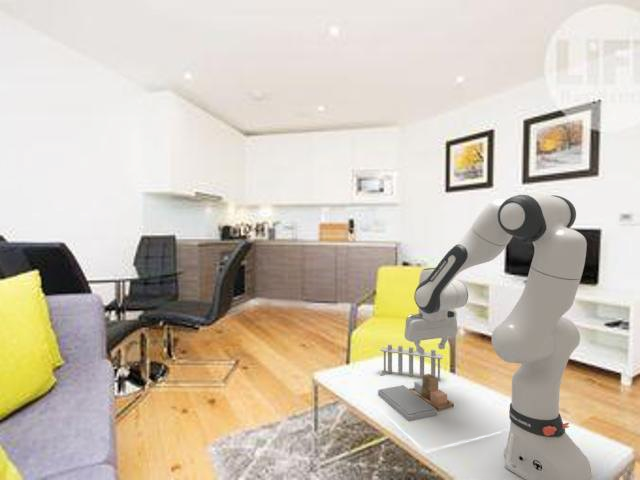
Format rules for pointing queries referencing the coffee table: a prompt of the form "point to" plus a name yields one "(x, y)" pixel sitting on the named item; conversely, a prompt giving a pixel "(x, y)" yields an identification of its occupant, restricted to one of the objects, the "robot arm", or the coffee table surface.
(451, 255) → the robot arm
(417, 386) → the pale blue cube
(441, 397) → the block
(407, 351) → the test tube rack
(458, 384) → the coffee table surface
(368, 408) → the coffee table surface
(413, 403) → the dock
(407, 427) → the coffee table surface
